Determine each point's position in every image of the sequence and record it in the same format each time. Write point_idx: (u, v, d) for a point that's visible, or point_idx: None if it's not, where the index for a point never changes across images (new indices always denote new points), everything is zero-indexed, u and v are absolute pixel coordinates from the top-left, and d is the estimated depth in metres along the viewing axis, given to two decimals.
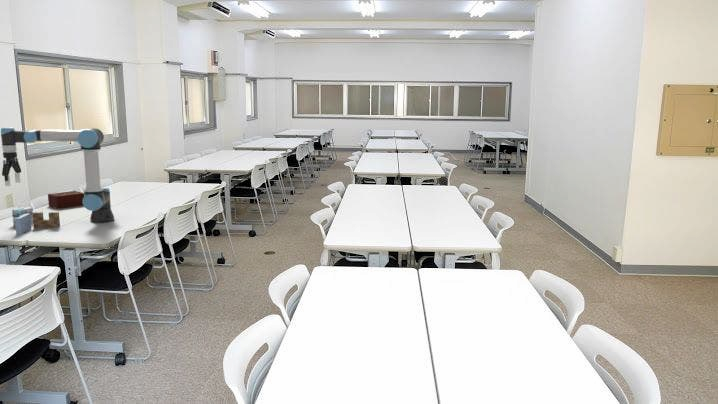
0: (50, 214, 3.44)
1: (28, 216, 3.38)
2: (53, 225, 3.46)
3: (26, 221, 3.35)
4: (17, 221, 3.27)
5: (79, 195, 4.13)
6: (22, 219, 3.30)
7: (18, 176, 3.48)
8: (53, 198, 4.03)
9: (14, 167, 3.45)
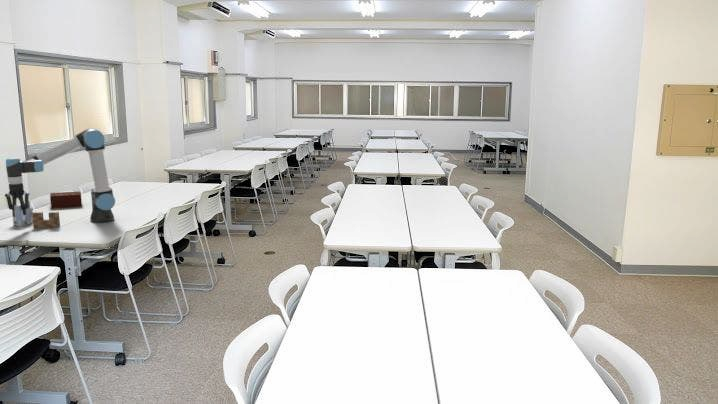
0: (50, 214, 3.44)
1: None
2: (53, 225, 3.46)
3: None
4: (16, 208, 3.25)
5: (75, 196, 4.08)
6: None
7: None
8: None
9: None
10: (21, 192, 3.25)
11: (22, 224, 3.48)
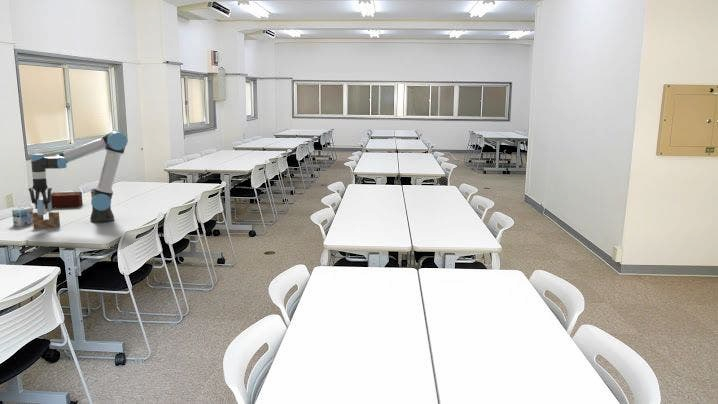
0: (50, 214, 3.44)
1: None
2: (53, 225, 3.46)
3: None
4: (39, 202, 3.36)
5: (73, 197, 4.06)
6: None
7: None
8: None
9: None
10: (44, 187, 3.36)
11: (22, 224, 3.48)
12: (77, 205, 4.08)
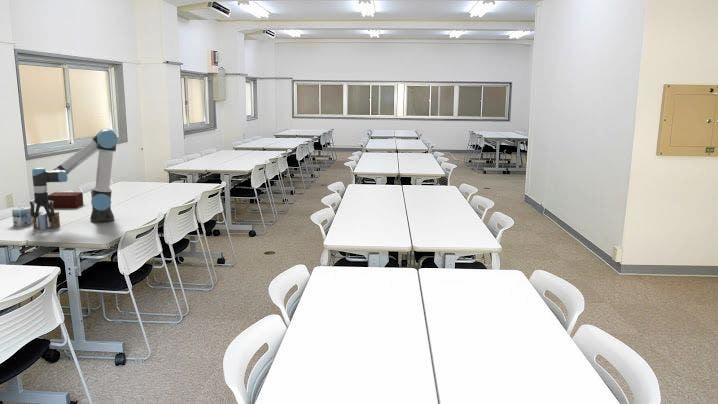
0: None
1: None
2: (53, 225, 3.46)
3: None
4: (41, 217, 3.38)
5: (69, 197, 4.04)
6: (45, 215, 3.41)
7: None
8: None
9: None
10: (45, 200, 3.38)
11: (22, 224, 3.48)
12: (74, 206, 4.05)
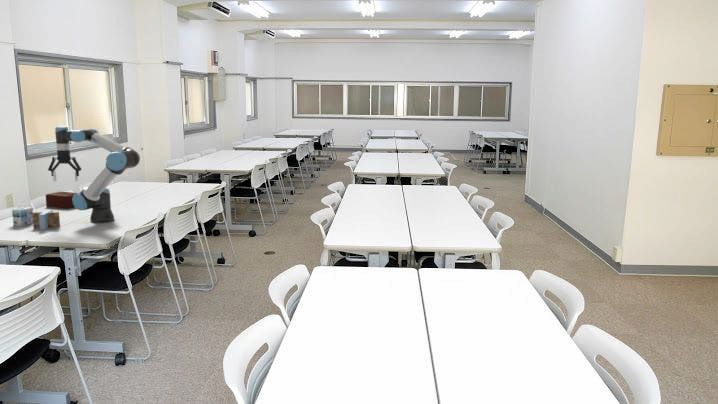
0: (50, 214, 3.44)
1: None
2: (53, 225, 3.46)
3: None
4: (41, 217, 3.38)
5: (63, 198, 4.01)
6: (45, 215, 3.41)
7: (75, 175, 3.55)
8: None
9: None
10: (68, 158, 3.52)
11: (22, 224, 3.48)
12: (66, 207, 4.02)
